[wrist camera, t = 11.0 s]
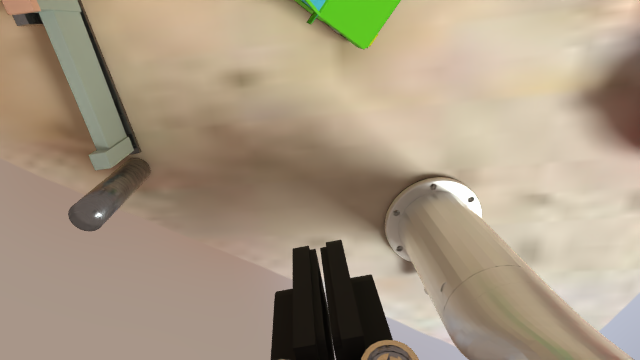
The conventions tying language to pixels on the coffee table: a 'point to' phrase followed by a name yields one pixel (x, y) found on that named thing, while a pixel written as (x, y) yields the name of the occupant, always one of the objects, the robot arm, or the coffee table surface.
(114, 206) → the gate posts
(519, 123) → the coffee table surface
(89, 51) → the gate
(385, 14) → the green toy car
